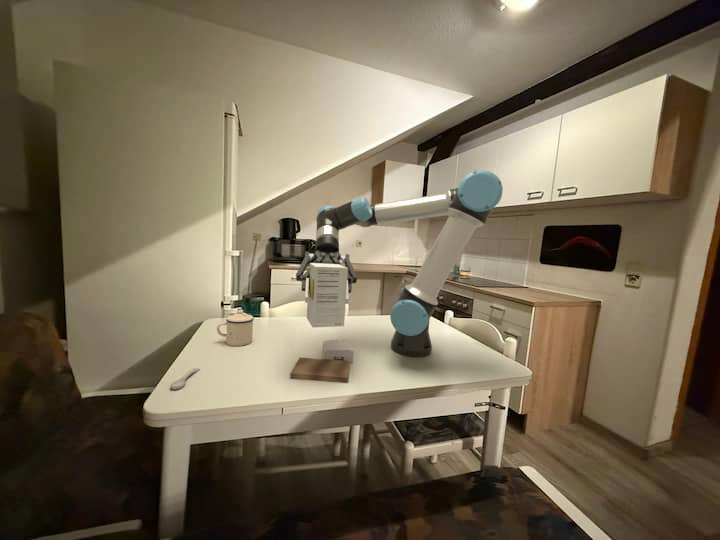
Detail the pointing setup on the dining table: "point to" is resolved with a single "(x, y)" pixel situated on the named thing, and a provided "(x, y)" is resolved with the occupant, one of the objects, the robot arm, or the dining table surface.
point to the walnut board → (321, 370)
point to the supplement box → (326, 295)
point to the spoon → (183, 379)
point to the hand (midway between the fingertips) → (326, 300)
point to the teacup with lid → (238, 329)
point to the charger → (337, 350)
